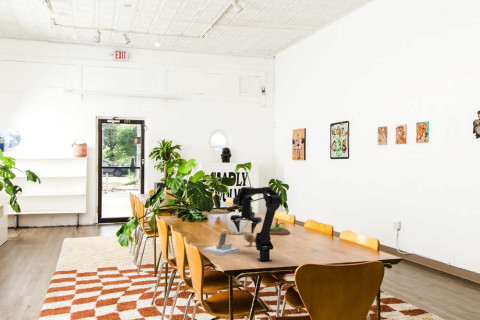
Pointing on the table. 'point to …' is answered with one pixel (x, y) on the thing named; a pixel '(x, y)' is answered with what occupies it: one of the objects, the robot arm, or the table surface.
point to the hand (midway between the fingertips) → (245, 232)
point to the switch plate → (221, 249)
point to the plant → (279, 230)
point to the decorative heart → (244, 225)
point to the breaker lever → (222, 238)
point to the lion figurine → (249, 238)
